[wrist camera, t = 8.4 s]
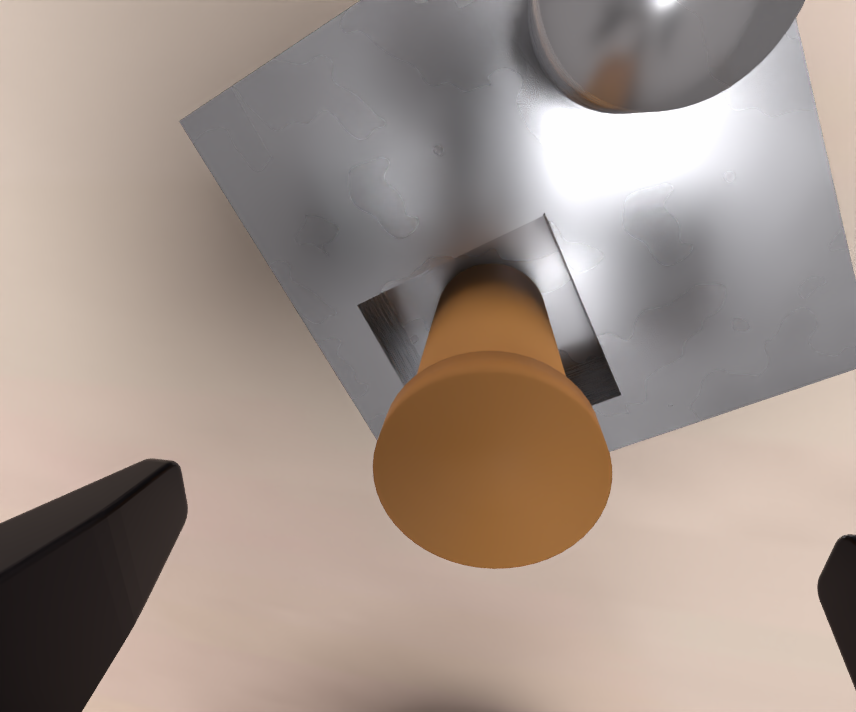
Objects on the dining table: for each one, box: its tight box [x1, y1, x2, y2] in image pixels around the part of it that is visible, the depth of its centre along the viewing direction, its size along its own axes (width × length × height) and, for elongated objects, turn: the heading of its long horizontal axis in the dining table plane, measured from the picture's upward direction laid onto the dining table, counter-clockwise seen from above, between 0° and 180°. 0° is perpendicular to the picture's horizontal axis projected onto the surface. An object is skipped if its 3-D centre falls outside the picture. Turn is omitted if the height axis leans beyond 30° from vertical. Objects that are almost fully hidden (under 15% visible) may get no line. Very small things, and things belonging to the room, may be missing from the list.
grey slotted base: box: [179, 0, 856, 452], centre depth 13 cm, size 12×12×6 cm
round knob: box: [373, 263, 612, 569], centre depth 12 cm, size 4×4×8 cm
